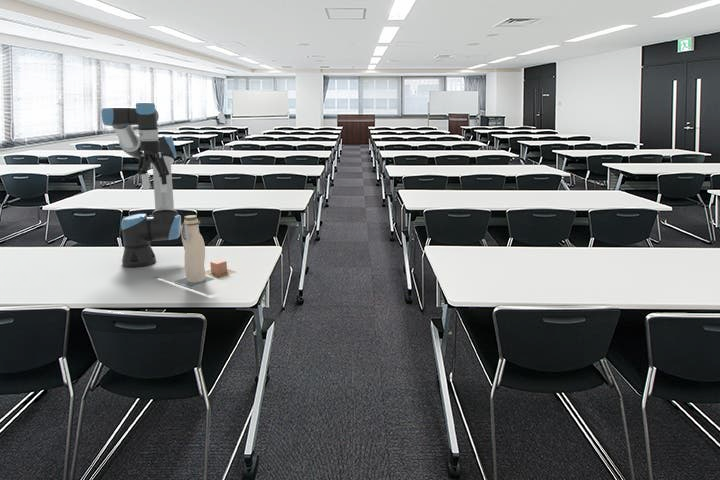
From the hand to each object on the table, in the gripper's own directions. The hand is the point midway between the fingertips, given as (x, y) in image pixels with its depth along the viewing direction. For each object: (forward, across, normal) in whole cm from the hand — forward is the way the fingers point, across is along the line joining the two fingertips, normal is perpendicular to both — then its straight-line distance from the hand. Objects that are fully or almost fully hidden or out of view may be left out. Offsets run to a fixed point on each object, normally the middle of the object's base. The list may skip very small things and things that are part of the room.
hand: (155, 190), depth 223 cm
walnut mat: (+39, +18, +16) cm, 46 cm away
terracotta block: (+38, +18, +16) cm, 45 cm away
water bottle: (+38, +19, +3) cm, 42 cm away
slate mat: (+39, +18, +3) cm, 43 cm away
